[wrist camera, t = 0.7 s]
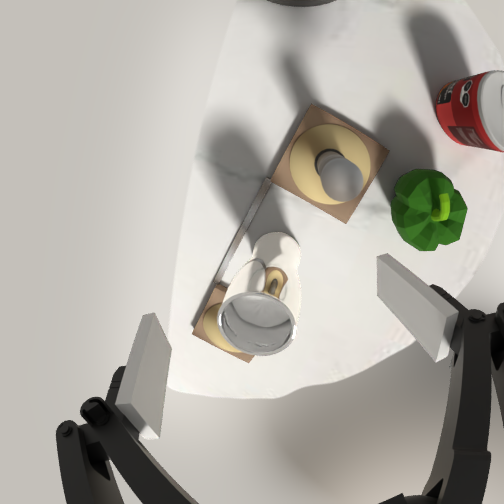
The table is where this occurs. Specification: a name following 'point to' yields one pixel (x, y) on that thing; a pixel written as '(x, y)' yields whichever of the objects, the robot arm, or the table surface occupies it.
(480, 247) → the table surface
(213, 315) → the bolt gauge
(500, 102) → the canned food
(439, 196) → the bell pepper
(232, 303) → the beer glass
